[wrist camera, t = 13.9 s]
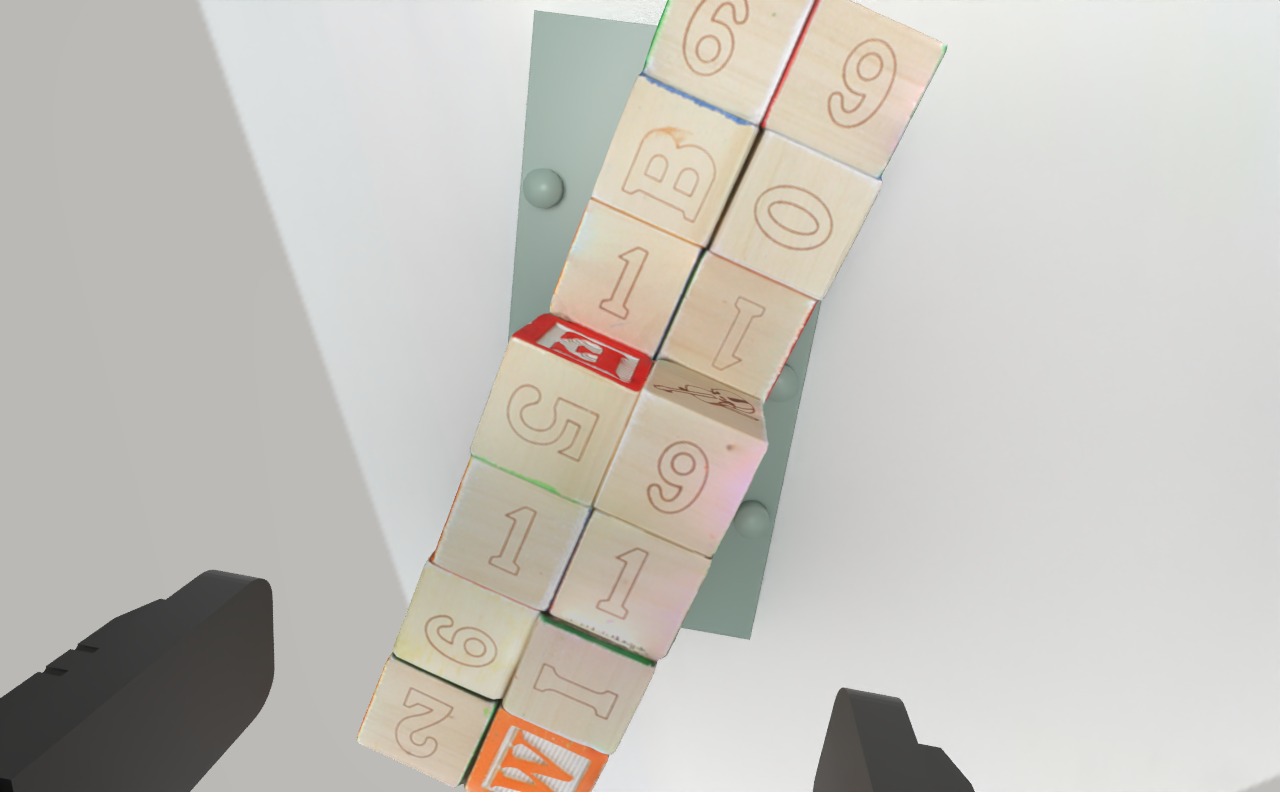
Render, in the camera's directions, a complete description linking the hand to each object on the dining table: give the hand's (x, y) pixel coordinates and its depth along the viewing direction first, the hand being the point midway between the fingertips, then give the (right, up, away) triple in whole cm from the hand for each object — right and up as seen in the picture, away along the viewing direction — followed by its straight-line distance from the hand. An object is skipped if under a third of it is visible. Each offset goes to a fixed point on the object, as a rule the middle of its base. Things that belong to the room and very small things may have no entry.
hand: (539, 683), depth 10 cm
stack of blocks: (+2, +6, +17) cm, 19 cm away
